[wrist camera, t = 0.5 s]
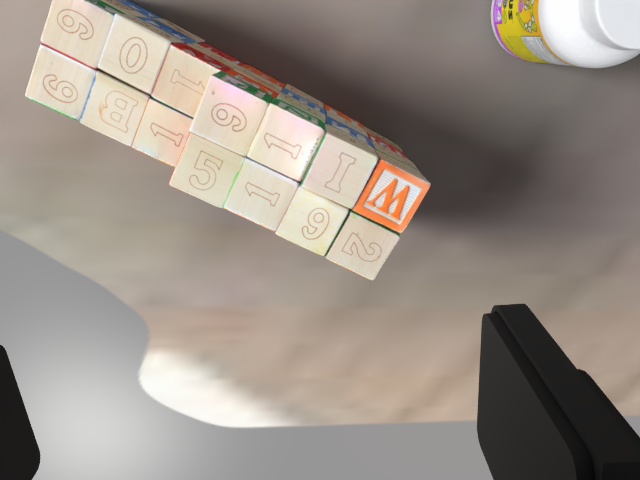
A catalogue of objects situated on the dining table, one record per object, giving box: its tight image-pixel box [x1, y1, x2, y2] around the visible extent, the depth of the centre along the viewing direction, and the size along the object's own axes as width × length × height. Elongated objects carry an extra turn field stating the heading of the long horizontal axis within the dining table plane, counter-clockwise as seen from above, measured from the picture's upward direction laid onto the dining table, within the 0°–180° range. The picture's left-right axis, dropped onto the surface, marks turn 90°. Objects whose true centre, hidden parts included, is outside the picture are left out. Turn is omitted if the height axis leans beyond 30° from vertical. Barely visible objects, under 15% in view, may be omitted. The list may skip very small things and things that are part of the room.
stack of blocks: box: [25, 0, 431, 280], centre depth 32 cm, size 21×6×12 cm, turn 63°
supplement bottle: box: [491, 0, 640, 68], centre depth 29 cm, size 7×7×13 cm
